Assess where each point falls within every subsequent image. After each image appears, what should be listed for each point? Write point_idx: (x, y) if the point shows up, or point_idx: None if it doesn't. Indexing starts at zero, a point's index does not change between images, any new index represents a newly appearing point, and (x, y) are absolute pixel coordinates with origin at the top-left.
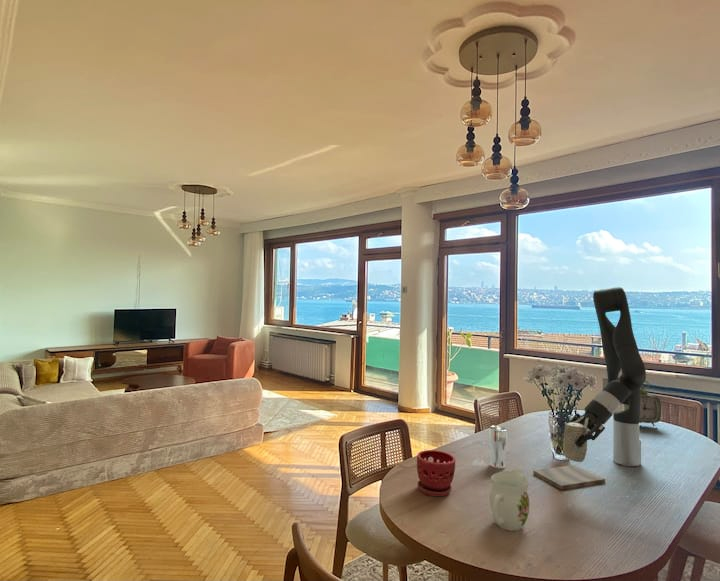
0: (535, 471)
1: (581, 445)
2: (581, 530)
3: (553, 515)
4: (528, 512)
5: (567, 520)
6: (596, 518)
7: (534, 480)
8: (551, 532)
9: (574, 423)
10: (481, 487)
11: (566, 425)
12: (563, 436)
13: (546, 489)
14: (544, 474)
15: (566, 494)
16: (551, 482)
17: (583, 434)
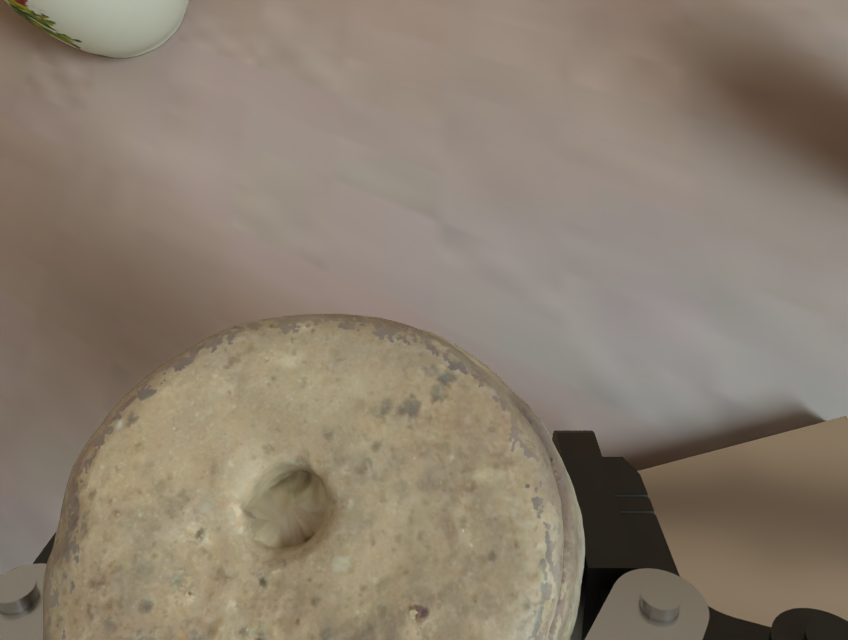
0: (821, 422)
1: None
2: (4, 327)
3: (180, 258)
4: (12, 7)
5: (114, 308)
6: None
7: (699, 375)
8: (26, 167)
9: (403, 593)
10: (557, 4)
11: (359, 318)
12: (557, 432)
13: (535, 390)
14: (759, 471)
15: None
16: None
17: (28, 573)
